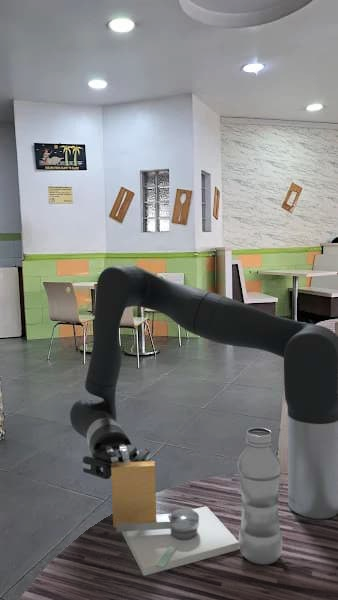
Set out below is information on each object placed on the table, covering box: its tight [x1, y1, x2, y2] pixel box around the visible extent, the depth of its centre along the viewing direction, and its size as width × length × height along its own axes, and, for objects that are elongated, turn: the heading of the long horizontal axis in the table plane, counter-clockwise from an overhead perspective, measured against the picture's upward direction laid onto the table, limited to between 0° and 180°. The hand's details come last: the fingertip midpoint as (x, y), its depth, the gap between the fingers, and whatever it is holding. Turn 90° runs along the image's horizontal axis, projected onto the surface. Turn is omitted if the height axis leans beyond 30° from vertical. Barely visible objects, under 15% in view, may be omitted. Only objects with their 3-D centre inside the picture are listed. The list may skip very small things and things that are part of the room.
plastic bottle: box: [236, 427, 284, 566], centre depth 73 cm, size 6×7×20 cm
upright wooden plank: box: [110, 460, 199, 533], centre depth 78 cm, size 14×5×11 cm, turn 94°
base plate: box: [121, 505, 240, 577], centre depth 78 cm, size 16×14×2 cm
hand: (128, 481), depth 78 cm, fingers closed
